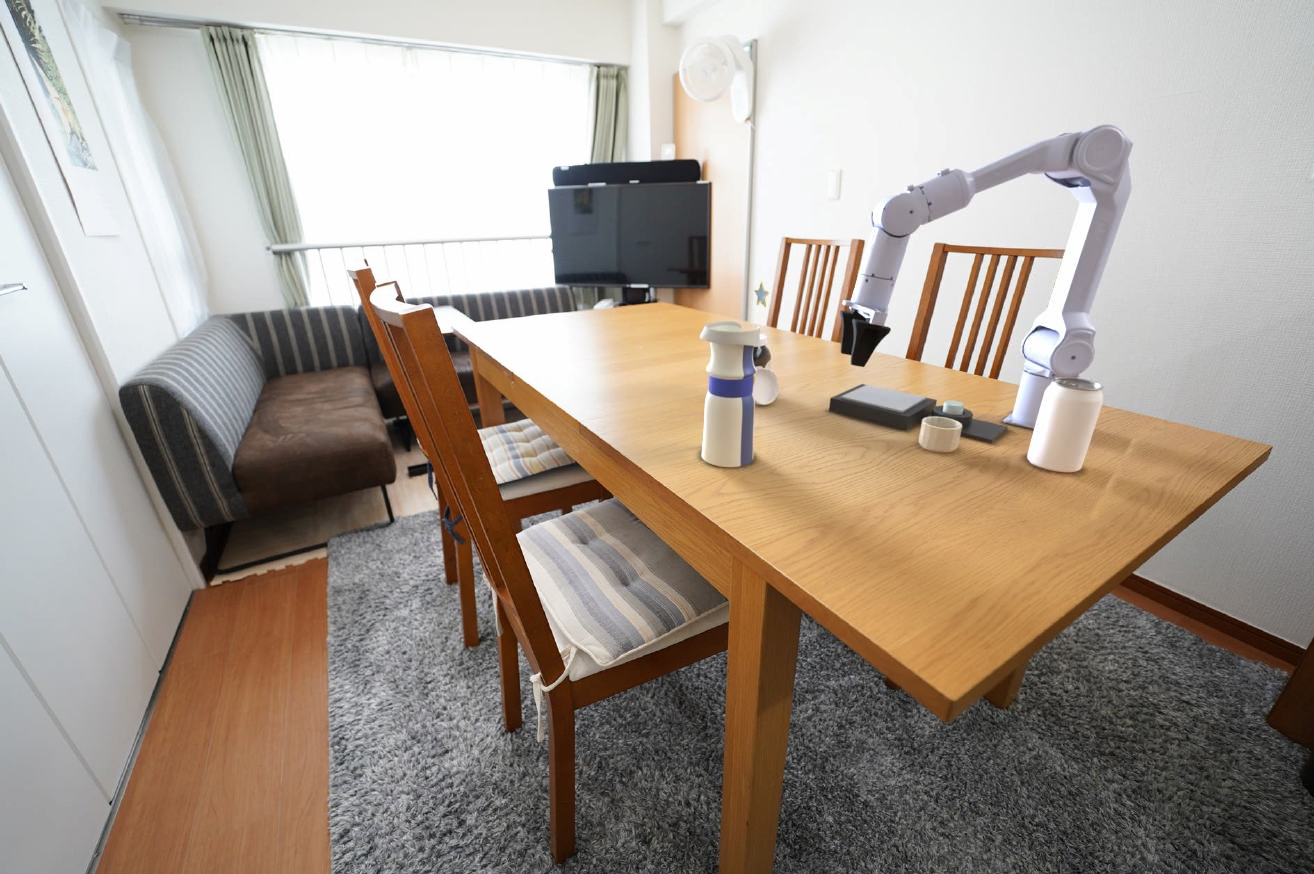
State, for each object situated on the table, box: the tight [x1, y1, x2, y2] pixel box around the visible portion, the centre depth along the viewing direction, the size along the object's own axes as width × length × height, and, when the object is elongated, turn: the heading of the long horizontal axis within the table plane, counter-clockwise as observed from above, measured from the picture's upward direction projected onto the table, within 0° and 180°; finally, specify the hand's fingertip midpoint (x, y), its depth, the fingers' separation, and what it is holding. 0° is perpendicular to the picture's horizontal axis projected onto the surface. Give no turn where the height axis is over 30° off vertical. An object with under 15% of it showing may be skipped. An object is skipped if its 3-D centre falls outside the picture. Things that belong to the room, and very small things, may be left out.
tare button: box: [942, 399, 965, 415], centre depth 90 cm, size 3×3×2 cm
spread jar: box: [753, 333, 780, 406], centre depth 104 cm, size 12×11×12 cm
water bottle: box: [699, 281, 770, 468], centre depth 76 cm, size 8×9×25 cm
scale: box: [828, 383, 938, 432], centre depth 97 cm, size 14×12×3 cm
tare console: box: [930, 404, 1008, 444], centre depth 90 cm, size 10×8×2 cm
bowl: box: [917, 416, 962, 454], centre depth 82 cm, size 5×5×4 cm
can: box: [1026, 378, 1104, 474], centre depth 75 cm, size 6×6×12 cm
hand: (851, 359), depth 91 cm, fingers open, 7 cm apart
